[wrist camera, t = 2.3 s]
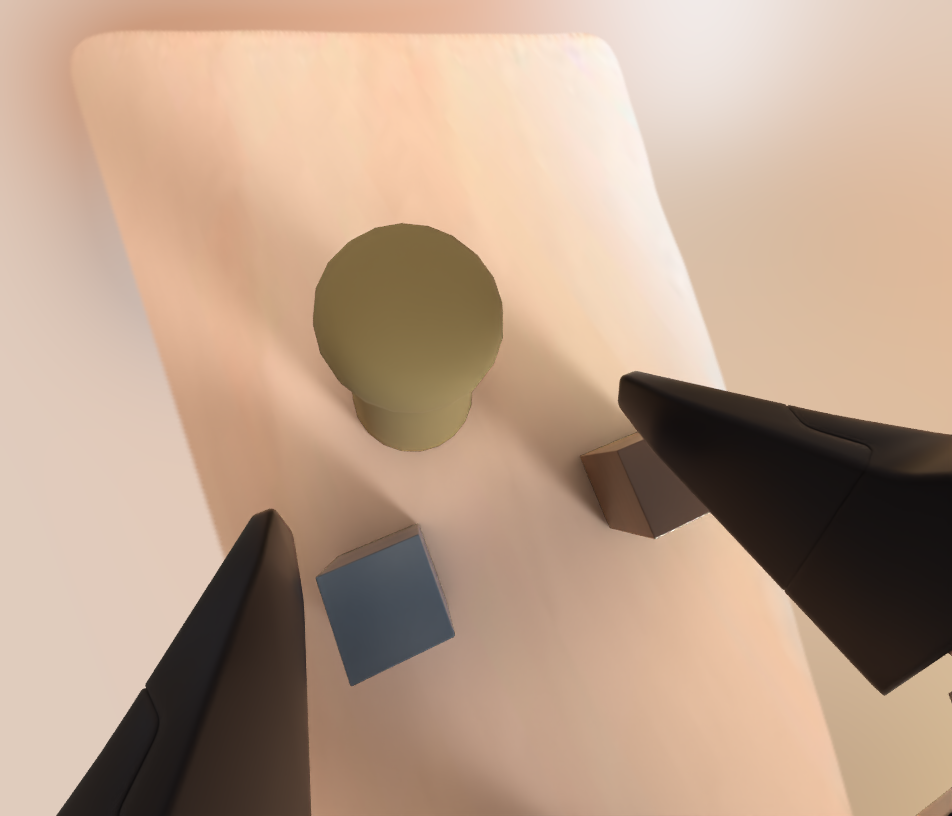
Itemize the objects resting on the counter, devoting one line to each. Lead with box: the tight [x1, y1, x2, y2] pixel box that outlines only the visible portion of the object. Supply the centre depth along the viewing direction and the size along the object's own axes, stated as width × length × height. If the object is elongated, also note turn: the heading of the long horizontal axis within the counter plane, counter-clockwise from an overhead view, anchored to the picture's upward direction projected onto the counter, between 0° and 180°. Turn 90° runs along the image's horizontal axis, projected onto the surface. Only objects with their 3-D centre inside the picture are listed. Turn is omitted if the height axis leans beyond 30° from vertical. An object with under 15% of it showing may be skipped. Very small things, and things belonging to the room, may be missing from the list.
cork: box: [313, 223, 503, 451], centre depth 15 cm, size 6×6×11 cm
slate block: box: [316, 524, 455, 686], centre depth 16 cm, size 4×4×4 cm
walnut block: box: [580, 432, 710, 539], centre depth 19 cm, size 4×4×4 cm
